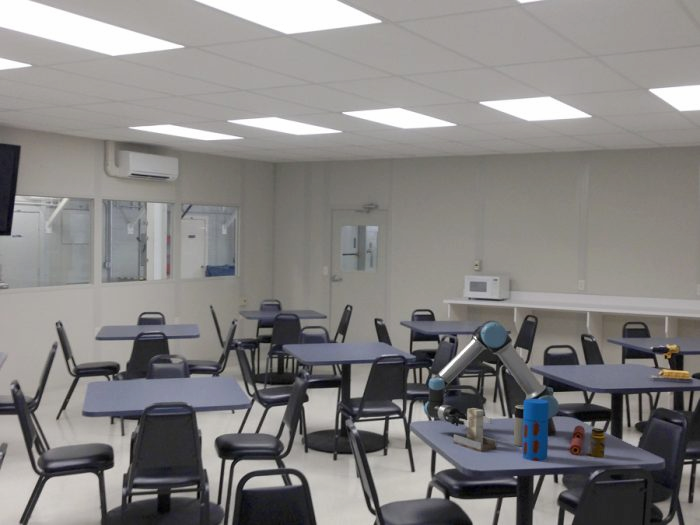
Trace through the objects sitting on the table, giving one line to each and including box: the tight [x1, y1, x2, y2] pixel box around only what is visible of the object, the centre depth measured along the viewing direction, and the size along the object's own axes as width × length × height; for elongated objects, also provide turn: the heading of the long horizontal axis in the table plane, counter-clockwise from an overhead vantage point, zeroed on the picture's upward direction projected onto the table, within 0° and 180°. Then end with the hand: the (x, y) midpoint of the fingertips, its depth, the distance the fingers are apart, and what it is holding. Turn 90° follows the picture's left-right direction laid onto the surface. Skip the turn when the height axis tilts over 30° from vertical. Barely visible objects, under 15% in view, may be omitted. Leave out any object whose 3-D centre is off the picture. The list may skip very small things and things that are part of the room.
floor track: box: [453, 434, 498, 453], centre depth 358 cm, size 18×10×4 cm, turn 34°
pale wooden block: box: [466, 407, 485, 445], centre depth 358 cm, size 6×4×16 cm
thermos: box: [522, 398, 549, 462], centre depth 340 cm, size 11×11×25 cm
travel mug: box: [513, 404, 524, 447], centre depth 363 cm, size 8×8×18 cm
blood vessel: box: [569, 425, 586, 456], centre depth 366 cm, size 42×5×5 cm, turn 161°
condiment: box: [583, 427, 608, 459], centre depth 346 cm, size 7×8×12 cm
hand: (480, 422), depth 355 cm, fingers open, 13 cm apart
